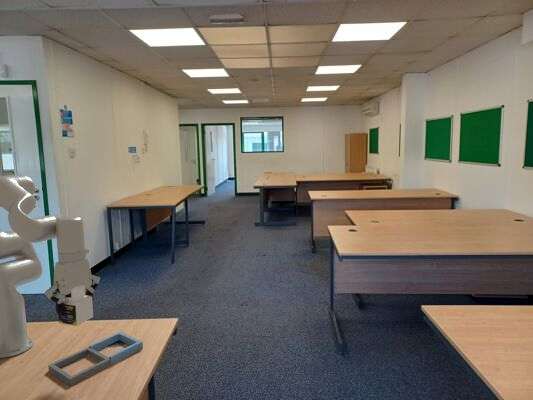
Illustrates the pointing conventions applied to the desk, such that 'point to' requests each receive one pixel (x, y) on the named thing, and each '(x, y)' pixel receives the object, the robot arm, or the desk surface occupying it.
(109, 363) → the frame
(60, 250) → the robot arm
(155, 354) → the desk surface
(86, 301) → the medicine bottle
